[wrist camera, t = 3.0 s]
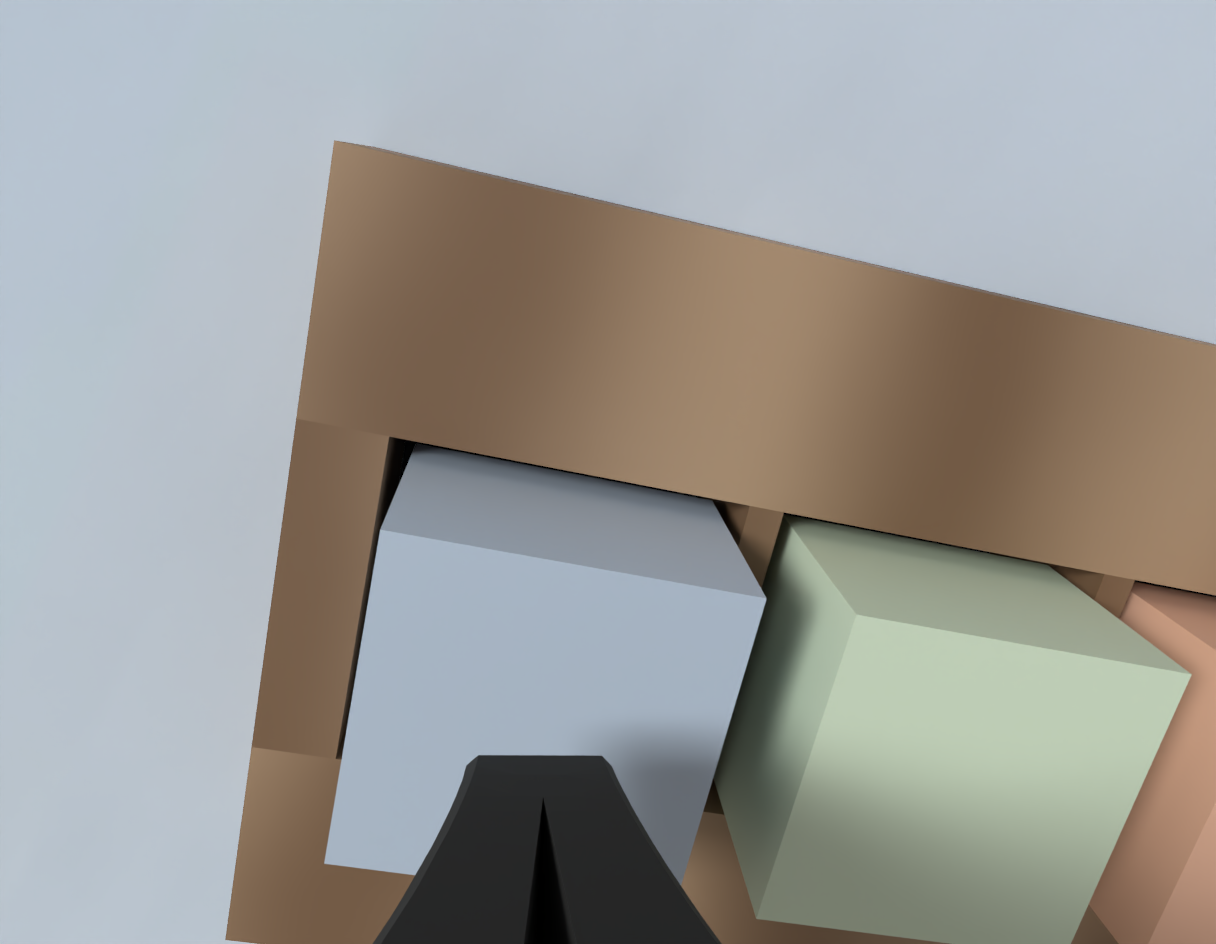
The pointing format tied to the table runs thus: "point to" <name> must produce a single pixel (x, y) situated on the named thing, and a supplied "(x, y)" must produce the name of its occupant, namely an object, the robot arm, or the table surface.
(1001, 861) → the sage key
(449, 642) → the slate key
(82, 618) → the table surface
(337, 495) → the brown wooden tray
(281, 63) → the table surface
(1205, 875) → the terracotta key
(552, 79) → the table surface
